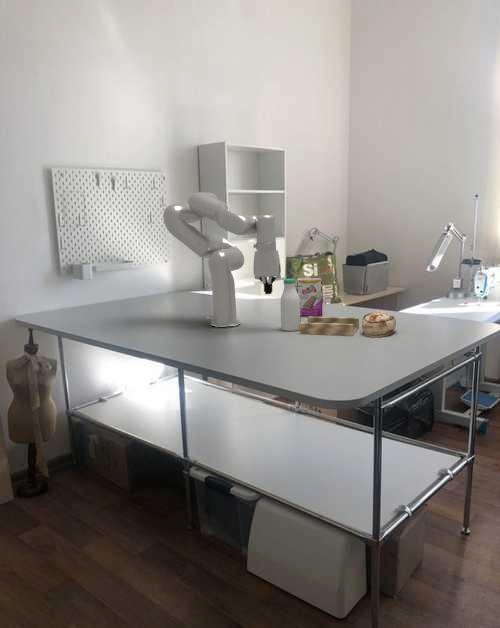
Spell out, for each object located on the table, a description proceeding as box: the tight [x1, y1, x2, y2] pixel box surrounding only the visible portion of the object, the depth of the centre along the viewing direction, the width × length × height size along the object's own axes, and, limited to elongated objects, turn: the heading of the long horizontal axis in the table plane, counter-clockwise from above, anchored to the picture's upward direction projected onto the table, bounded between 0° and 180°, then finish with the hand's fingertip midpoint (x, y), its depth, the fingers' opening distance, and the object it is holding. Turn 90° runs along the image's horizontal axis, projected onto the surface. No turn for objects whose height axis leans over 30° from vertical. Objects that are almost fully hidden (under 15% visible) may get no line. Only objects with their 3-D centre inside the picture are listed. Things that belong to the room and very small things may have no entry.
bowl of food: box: [361, 310, 397, 338], centre depth 198 cm, size 13×15×8 cm
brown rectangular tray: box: [299, 316, 360, 337], centre depth 205 cm, size 20×14×4 cm
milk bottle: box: [280, 278, 302, 332], centre depth 210 cm, size 8×8×20 cm
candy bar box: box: [296, 278, 323, 317], centre depth 236 cm, size 11×5×16 cm, turn 84°
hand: (268, 293), depth 212 cm, fingers closed
